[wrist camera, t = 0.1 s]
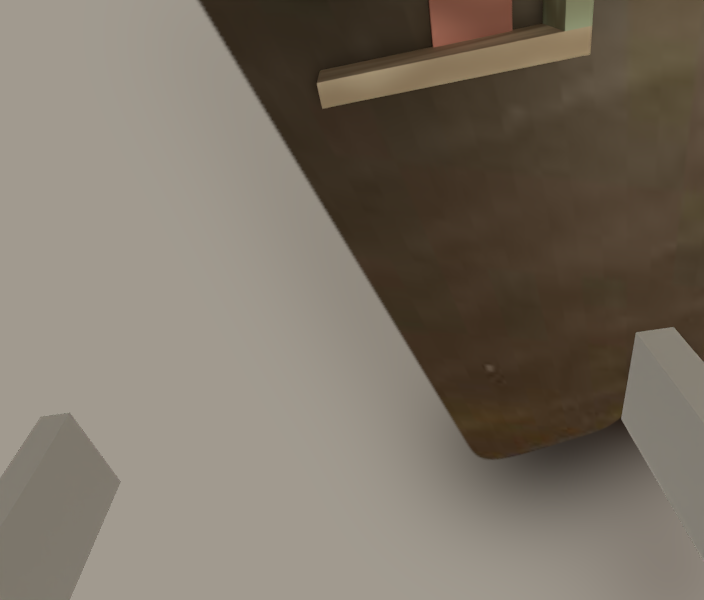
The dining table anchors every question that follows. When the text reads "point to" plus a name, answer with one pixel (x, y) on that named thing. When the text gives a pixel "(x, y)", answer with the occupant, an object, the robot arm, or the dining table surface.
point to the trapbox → (465, 49)
